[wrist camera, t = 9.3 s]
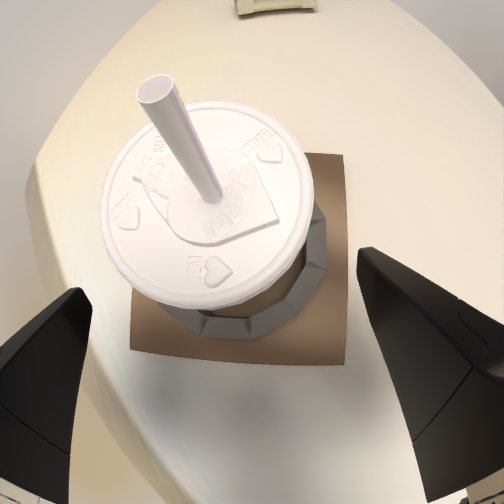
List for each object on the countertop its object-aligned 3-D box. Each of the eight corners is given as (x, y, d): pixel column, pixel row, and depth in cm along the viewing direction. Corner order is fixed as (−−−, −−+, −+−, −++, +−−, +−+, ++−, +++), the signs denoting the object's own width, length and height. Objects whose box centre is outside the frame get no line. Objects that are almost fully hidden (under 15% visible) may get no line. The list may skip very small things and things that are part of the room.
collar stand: (340, 361, 17) (354, 374, 13) (136, 347, 18) (109, 354, 14) (339, 161, 19) (350, 134, 15) (155, 162, 20) (135, 138, 17)
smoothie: (266, 325, 16) (231, 419, 3) (168, 280, 17) (-45, 213, 4) (310, 224, 17) (387, 18, 3) (213, 185, 18) (113, -11, 4)
